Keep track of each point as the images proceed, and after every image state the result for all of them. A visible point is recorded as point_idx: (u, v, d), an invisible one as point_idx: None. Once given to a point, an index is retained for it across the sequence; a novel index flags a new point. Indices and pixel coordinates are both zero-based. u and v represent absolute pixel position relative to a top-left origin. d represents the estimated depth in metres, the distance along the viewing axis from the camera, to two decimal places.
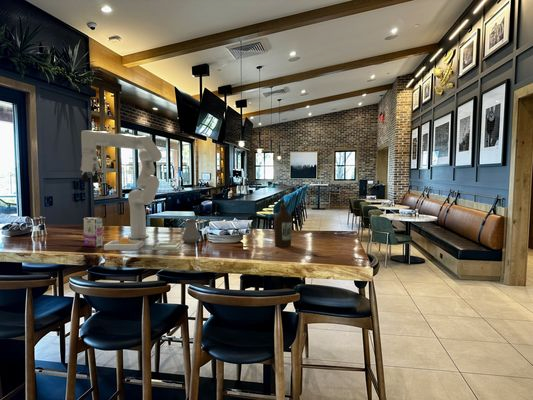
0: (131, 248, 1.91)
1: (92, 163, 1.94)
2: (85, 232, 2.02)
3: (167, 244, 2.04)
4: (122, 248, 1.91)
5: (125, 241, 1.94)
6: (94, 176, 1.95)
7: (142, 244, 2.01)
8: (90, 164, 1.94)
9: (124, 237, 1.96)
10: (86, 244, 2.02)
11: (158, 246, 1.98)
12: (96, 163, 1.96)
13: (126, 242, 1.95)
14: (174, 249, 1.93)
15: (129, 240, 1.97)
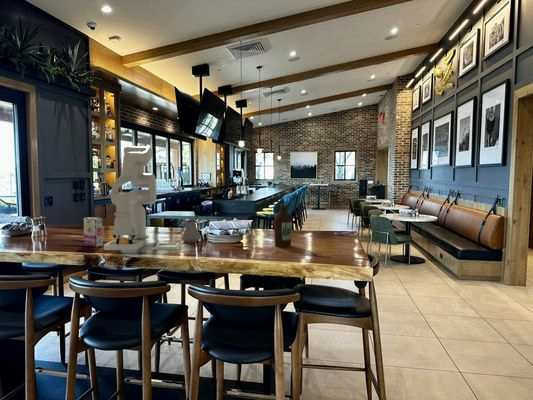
0: (131, 248, 1.91)
1: None
2: (85, 232, 2.02)
3: (167, 244, 2.04)
4: (122, 248, 1.91)
5: (125, 241, 1.94)
6: None
7: (142, 244, 2.01)
8: None
9: (124, 237, 1.96)
10: (86, 244, 2.02)
11: (158, 246, 1.98)
12: None
13: (126, 242, 1.95)
14: (174, 249, 1.93)
15: None
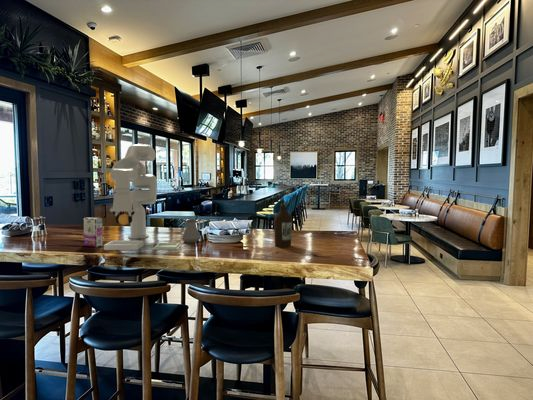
0: (131, 248, 1.91)
1: None
2: (85, 232, 2.02)
3: (167, 244, 2.04)
4: (122, 248, 1.91)
5: (125, 218, 1.94)
6: None
7: (142, 244, 2.01)
8: None
9: (124, 214, 1.96)
10: (86, 244, 2.02)
11: (158, 246, 1.98)
12: None
13: (126, 219, 1.94)
14: (174, 249, 1.93)
15: None
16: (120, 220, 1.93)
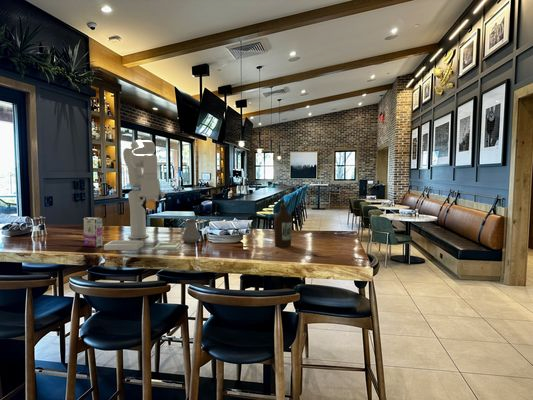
0: (131, 248, 1.91)
1: None
2: (85, 232, 2.02)
3: (167, 244, 2.04)
4: (122, 248, 1.91)
5: (152, 203, 1.94)
6: None
7: (142, 244, 2.01)
8: None
9: (151, 199, 1.96)
10: (86, 244, 2.02)
11: (158, 246, 1.98)
12: None
13: (153, 204, 1.94)
14: (174, 249, 1.93)
15: None
16: (147, 205, 1.93)
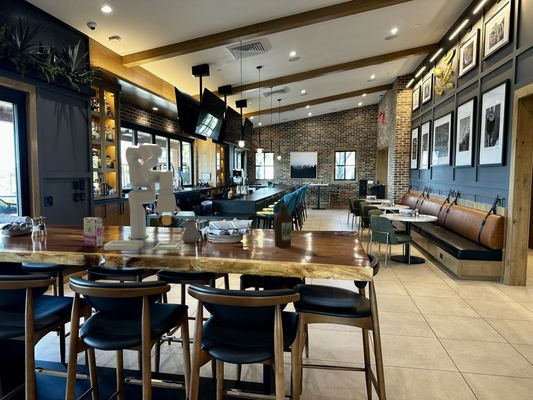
0: (131, 248, 1.91)
1: None
2: (85, 232, 2.02)
3: (167, 244, 2.04)
4: (122, 248, 1.91)
5: (168, 218, 1.95)
6: None
7: (142, 244, 2.01)
8: None
9: None
10: (86, 244, 2.02)
11: (158, 246, 1.98)
12: None
13: (169, 219, 1.95)
14: (174, 249, 1.93)
15: (171, 218, 1.97)
16: (164, 221, 1.94)
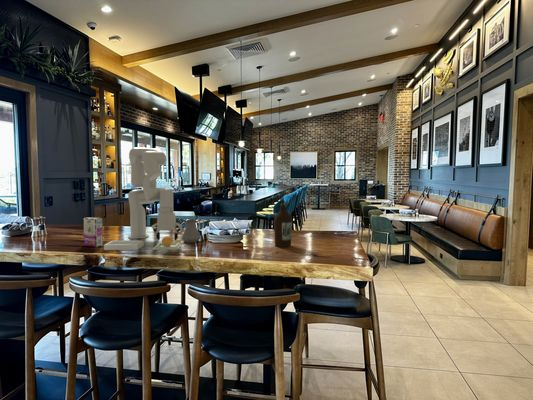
0: (131, 248, 1.91)
1: None
2: (85, 232, 2.02)
3: None
4: (122, 248, 1.91)
5: (168, 240, 1.96)
6: None
7: (142, 244, 2.01)
8: None
9: (167, 236, 1.98)
10: (86, 244, 2.02)
11: (158, 246, 1.98)
12: None
13: (169, 241, 1.96)
14: (174, 249, 1.93)
15: None
16: (164, 242, 1.96)
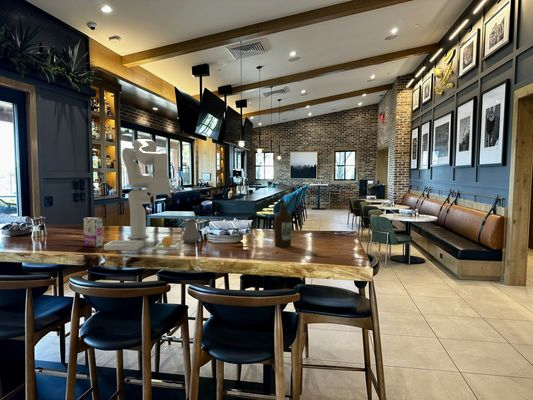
0: (131, 248, 1.91)
1: None
2: (85, 232, 2.02)
3: None
4: (122, 248, 1.91)
5: (168, 240, 1.96)
6: None
7: (142, 244, 2.01)
8: None
9: (167, 236, 1.98)
10: (86, 244, 2.02)
11: (158, 246, 1.98)
12: None
13: (169, 241, 1.96)
14: (174, 249, 1.93)
15: None
16: (164, 242, 1.96)
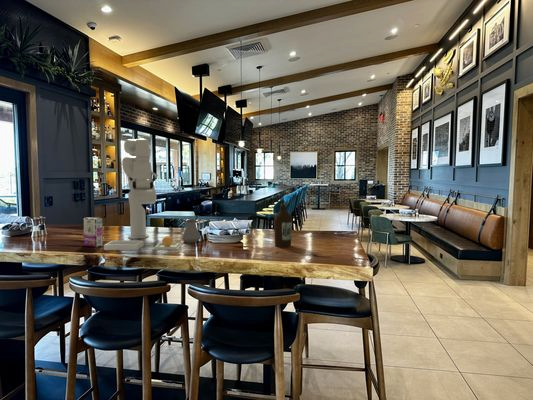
0: (131, 248, 1.91)
1: None
2: (85, 232, 2.02)
3: None
4: (122, 248, 1.91)
5: (169, 240, 1.96)
6: None
7: (142, 244, 2.01)
8: None
9: (167, 236, 1.98)
10: (86, 244, 2.02)
11: (158, 246, 1.98)
12: None
13: (169, 241, 1.96)
14: (174, 249, 1.93)
15: None
16: (164, 242, 1.96)
